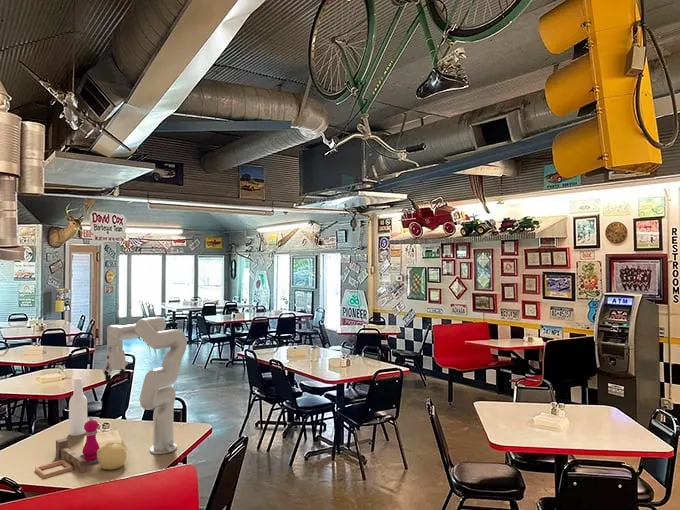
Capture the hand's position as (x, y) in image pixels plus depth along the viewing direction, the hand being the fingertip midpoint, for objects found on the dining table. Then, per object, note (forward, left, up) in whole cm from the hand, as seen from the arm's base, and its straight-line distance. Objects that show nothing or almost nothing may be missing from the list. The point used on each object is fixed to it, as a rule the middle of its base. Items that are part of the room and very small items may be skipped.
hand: (115, 380), depth 267 cm
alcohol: (+20, +11, -30) cm, 38 cm away
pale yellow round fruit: (-39, +18, -30) cm, 52 cm away
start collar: (-23, +21, -30) cm, 43 cm away
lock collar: (-23, +37, -30) cm, 53 cm away
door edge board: (-21, +29, -30) cm, 47 cm away
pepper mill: (-23, +21, -30) cm, 43 cm away
